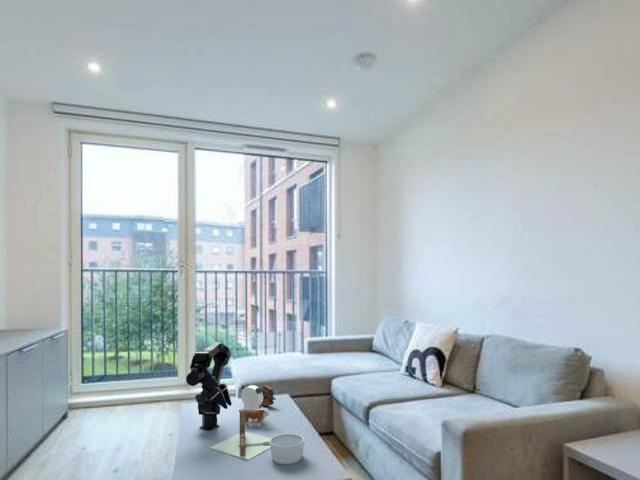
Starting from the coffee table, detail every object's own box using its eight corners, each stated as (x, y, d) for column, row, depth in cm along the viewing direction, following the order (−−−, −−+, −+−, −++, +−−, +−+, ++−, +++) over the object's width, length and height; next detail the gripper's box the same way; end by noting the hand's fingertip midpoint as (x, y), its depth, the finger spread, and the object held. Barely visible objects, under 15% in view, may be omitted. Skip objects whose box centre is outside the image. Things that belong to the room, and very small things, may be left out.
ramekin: (272, 451, 165) (272, 433, 165) (305, 451, 164) (305, 432, 165) (267, 466, 152) (267, 447, 152) (303, 466, 151) (303, 446, 152)
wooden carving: (251, 403, 225) (251, 384, 226) (257, 401, 229) (257, 382, 229) (271, 409, 214) (271, 389, 215) (278, 407, 218) (278, 387, 219)
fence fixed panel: (240, 446, 170) (240, 435, 170) (245, 445, 170) (245, 435, 170) (240, 457, 160) (240, 446, 160) (245, 456, 160) (245, 445, 160)
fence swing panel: (246, 443, 171) (246, 416, 171) (238, 443, 170) (238, 416, 171) (245, 434, 180) (245, 408, 181) (239, 434, 180) (239, 409, 181)
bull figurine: (268, 428, 189) (268, 409, 190) (241, 426, 192) (241, 408, 192) (271, 424, 193) (271, 406, 194) (244, 422, 196) (244, 405, 197)
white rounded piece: (269, 416, 205) (268, 385, 206) (253, 423, 195) (253, 390, 196) (250, 412, 211) (250, 381, 212) (234, 418, 202) (234, 387, 203)
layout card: (209, 448, 168) (209, 447, 168) (243, 431, 185) (243, 431, 185) (248, 460, 157) (248, 459, 157) (281, 441, 173) (281, 440, 173)
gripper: (197, 389, 191) (219, 416, 188) (185, 394, 173) (209, 424, 170) (216, 372, 193) (238, 398, 190) (206, 375, 175) (230, 404, 172)
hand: (228, 406), depth 181 cm, fingers open, 9 cm apart
